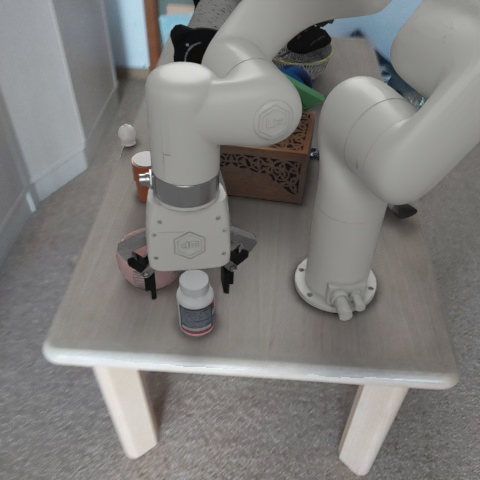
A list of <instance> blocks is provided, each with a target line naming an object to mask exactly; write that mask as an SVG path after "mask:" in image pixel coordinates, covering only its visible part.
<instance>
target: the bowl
mask: <svg viewBox="0 0 480 480" xmlns="http://www.w3.org/2000/svg"><path fill="white" fill-rule="evenodd" d="M287 44H288V43H287ZM287 44H286V45H285V46H284V47H283V48H282V49H281V50H280V51H279V53H278V54H277V55H276V56H275V57H274V59H273V60H272V62H273V63H274V64H275V65H276V66H277V68H280V67H282V66H285V65H297V66H299V67H301V68H303V69H304V70H305V71H306V72H307V73H308V74H309V76H310V78H311V80H312V81H313V80H315V79H316V78H318V77H319V76H320V75H321V74H322V73H323V72H324V71H325V69H326V67H327V65H328V63H329V61H330V59H331V57H332V56H333V54H334V51H335V48H334V46H333V44H331V43H330V44H328V45H327V46H326V47H324V48H321V49H318V50H315V51H313V52H310V53H307V54H297V53H293V52H291V53H290V54H288V55H285V56H283V57H281V55H283V54H285V53H286V52H287V51H289V50H288V49H287Z"/></svg>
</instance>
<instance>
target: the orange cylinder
mask: <svg viewBox="0 0 480 480" xmlns="http://www.w3.org/2000/svg"><path fill="white" fill-rule="evenodd" d="M130 164H131V171H132V177H133V180H134V182H135V187H136V194H137V198H138V200H139V201H140V202H142V203H145V204H146V202H147V195H148V190H149V188H150V187H147V186H140V182H139V174H146V173H145V172H149V169H151V170H152V168H151V158H150V150H144V151H139V152H137V153H135V154H133V155H132V157H131V159H130Z"/></svg>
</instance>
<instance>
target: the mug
mask: <svg viewBox="0 0 480 480" xmlns="http://www.w3.org/2000/svg"><path fill="white" fill-rule="evenodd" d="M144 230H146V227H143V228H138V229H136V230H133V231H131V232H129V233H127V234H126V235H125V236H124V237H122V239H121V240H120V242H122V241H124V240H126V239H128V238H130V237H132V236H134V235H136V234H138V233H140V232H142V231H144ZM133 252H135V253H137V254H139V255H140V256H142V257H143V256H144V255H145V254H146V253H147V245H145V246H143V247H141V248H139V249H137V250H135V251H133ZM116 261H117V267H118V269H119V271H120V273H121V274H122V277H124V278H125V280H126V281H127V282H128V283H129V284H130V285H132V286H134V287H136V288H138V289H141V290H145V282H144V278H143V277H142V276H141V273H140V272H138V271H136V270H135V269H133V268H131V267H130V266H128V263H127V262H126V261H125V260H124V259H123V258H122V257H121V256H120V254H119V253H118V246H117V248H116ZM180 272H181V270H178V271H157V270H156V271H155V280H156V290H159V289H164V288H166V287H168V286H170V285H171V284H172V283H173V282H174V281H176V279H177V278H178V276H179V274H180Z"/></svg>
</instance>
